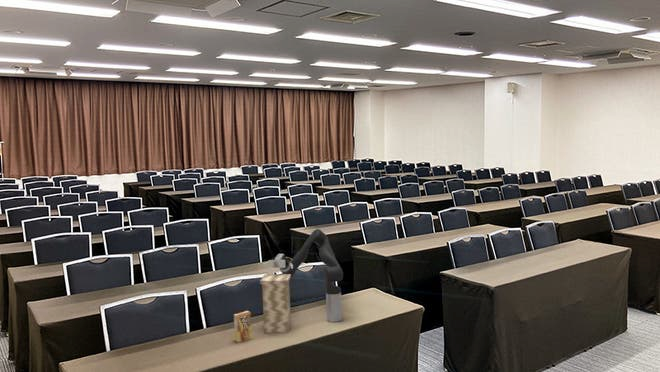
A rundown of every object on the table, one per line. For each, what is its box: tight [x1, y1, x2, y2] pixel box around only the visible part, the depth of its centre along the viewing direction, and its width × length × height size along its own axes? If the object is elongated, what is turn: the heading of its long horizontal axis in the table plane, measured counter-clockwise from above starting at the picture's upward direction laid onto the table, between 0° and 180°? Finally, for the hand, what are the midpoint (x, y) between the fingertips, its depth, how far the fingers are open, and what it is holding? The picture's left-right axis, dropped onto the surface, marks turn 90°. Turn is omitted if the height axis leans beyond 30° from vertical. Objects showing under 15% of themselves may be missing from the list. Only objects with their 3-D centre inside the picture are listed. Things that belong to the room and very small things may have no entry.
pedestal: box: [259, 273, 292, 334], centre depth 299 cm, size 16×14×31 cm
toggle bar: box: [267, 253, 285, 269], centre depth 312 cm, size 20×10×4 cm, turn 177°
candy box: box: [233, 310, 253, 343], centre depth 285 cm, size 9×4×15 cm, turn 129°
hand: (279, 257), depth 315 cm, fingers closed on toggle bar, 3 cm apart
